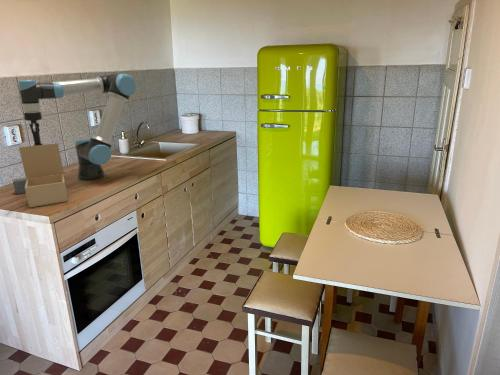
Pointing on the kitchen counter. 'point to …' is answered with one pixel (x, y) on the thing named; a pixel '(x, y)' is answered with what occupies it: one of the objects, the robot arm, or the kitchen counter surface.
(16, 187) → the block
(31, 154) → the lid
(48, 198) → the box
